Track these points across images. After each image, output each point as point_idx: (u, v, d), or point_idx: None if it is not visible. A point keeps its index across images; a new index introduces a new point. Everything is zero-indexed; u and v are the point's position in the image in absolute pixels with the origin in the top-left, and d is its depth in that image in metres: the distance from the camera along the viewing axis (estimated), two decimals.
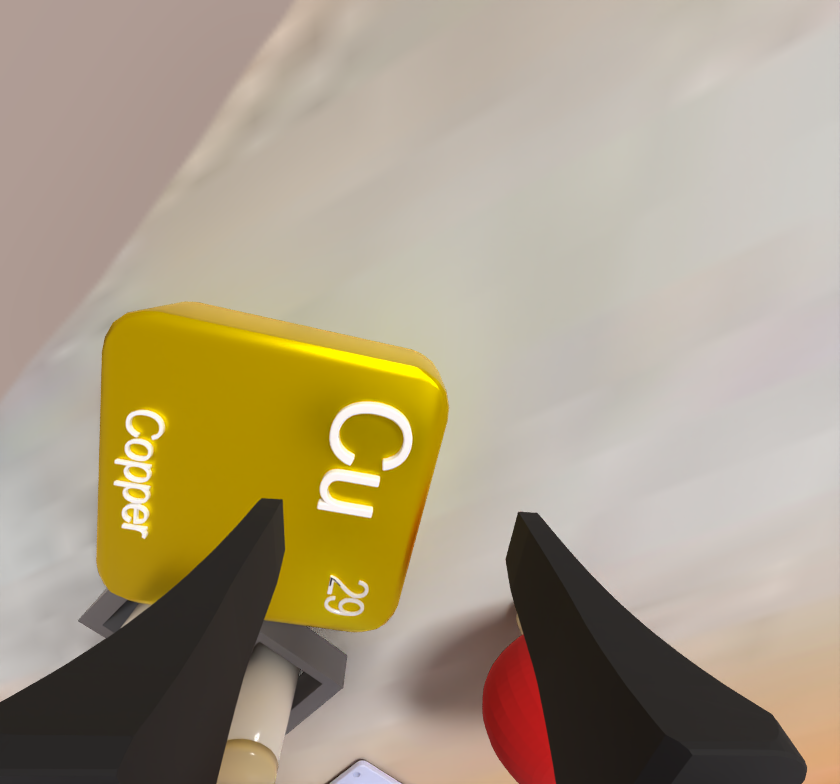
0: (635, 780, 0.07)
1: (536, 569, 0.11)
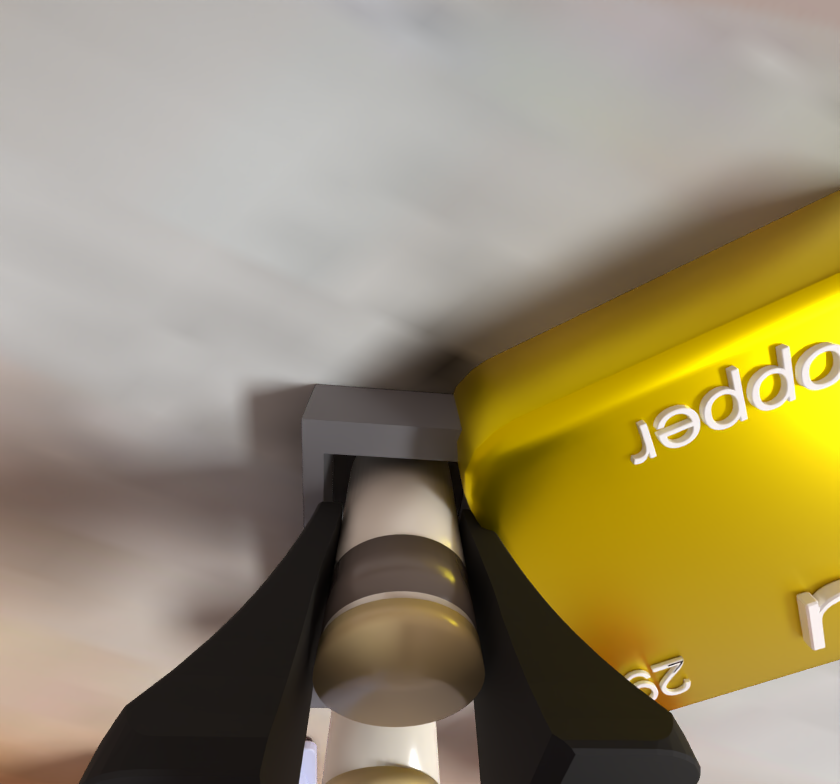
0: (532, 780, 0.07)
1: (472, 566, 0.11)
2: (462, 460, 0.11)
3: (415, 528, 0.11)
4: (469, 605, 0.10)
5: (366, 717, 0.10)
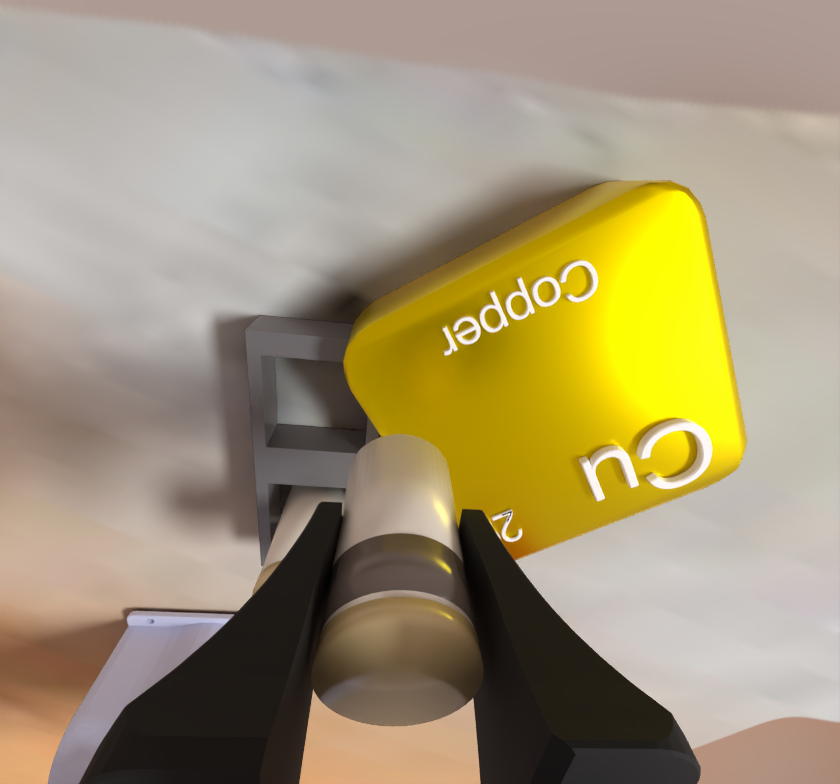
0: (531, 780, 0.07)
1: (472, 566, 0.11)
2: (344, 357, 0.18)
3: (414, 527, 0.11)
4: (468, 604, 0.10)
5: (365, 716, 0.10)
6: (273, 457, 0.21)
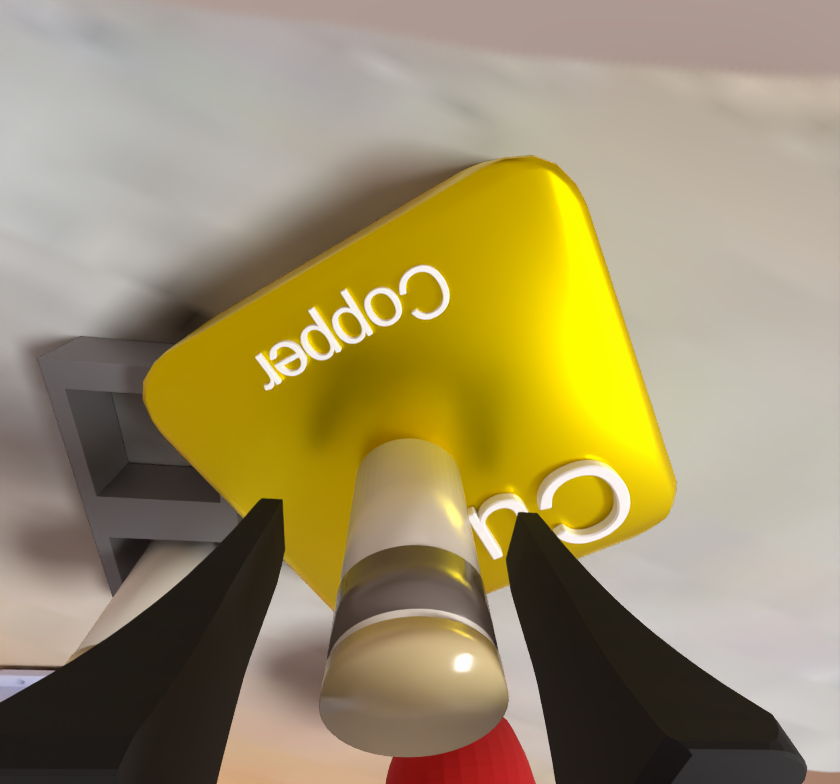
0: (635, 780, 0.07)
1: (536, 569, 0.11)
2: None
3: (427, 538, 0.10)
4: (488, 622, 0.09)
5: (378, 747, 0.09)
6: (109, 507, 0.17)
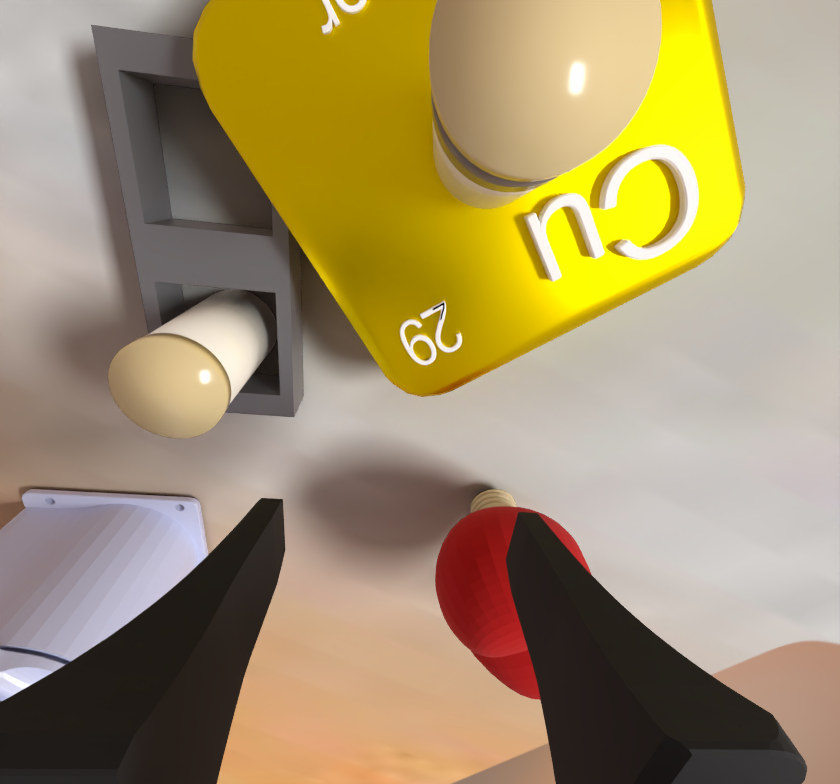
0: (635, 780, 0.07)
1: (536, 569, 0.11)
2: None
3: None
4: None
5: (480, 141, 0.07)
6: (156, 240, 0.17)
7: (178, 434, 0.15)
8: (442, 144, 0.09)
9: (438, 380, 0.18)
